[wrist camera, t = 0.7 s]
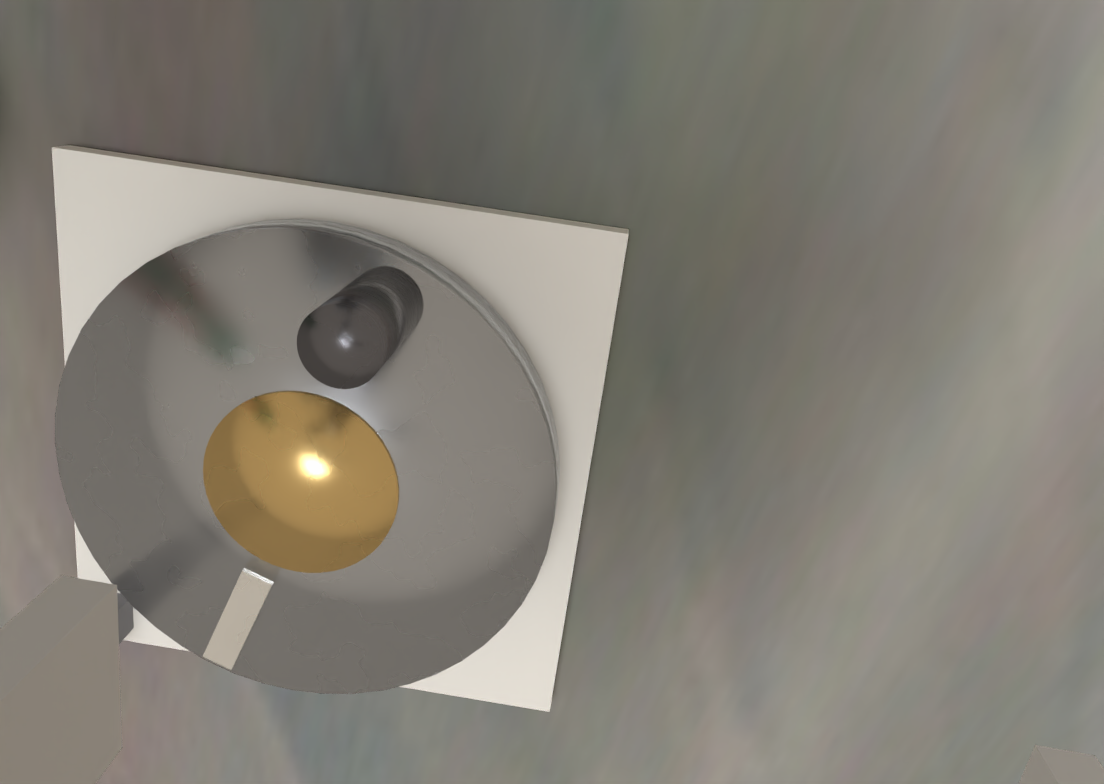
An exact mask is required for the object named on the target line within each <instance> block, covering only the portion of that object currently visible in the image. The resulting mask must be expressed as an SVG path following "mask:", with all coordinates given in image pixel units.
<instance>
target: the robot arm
mask: <svg viewBox="0 0 1104 784" xmlns="http://www.w3.org/2000/svg"><path fill="white" fill-rule="evenodd" d="M121 749H122V722H121V691H120V661H119V630H118V599H117V585H114V584H108V583H103V582H97V581H91V580H85V579H80V578H74V577H68V576H62V575H61V576H60V577H59V578H58V579H57V580H55V581H54V582H53V583H52V584H51V585H50V586H49V587H47V588H46V589H45V590H44V591H43V592H42V593H41V594H40V595H38V596H37V597H36V598H35V599H34V600H33V601H32V602H31V603H29V604H28V605H27V606H26V607H25V608H24V609H23V610H21V611H20V612H19V613H18V614H17V615H16V616H15V617H14V618H12V619H11V620H10V621H9V622H8V623H7V624H6V625H4V626H3V627H2V628H1V629H0V784H96V782H97V781H98V780H99V778H100V777H101V776H102V774H103V773H104V772H105V770H106V769H107V768H108V766H109V765H110V764H111V762H112V761H113V760H114V758H115V757H116V756H117V754H118V753H119V752H120V750H121ZM1019 784H1104V768H1103V767H1102V765H1101V764H1100V762H1099V761H1098V760H1097V758H1096V757H1095V755H1089V754H1084V753H1078V752H1072V751H1066V750H1061V749H1055V748H1049V747H1043V746H1038V745H1035V747H1034V749H1033V752H1032V754H1031V756H1030V759H1029V761H1028V763H1027V766H1026V768H1025V771H1024V773H1023V775H1022V778H1021V780H1020V782H1019Z"/></svg>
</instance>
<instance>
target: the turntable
mask: <svg viewBox="0 0 1104 784" xmlns="http://www.w3.org/2000/svg"><path fill="white" fill-rule="evenodd" d="M55 446H56V454H57V461H58V469H59V475H60V478H61V482H62V486H63V489H64V493H65V497H66V501H67V504H68V506H69V509H70V511H71V514H72V516H73V518H74V521H75V523H76V526H77V528H78V531H79V533H80V534H81V536H82V538H83V540H84V542H85V543H86V545H87V547H88V549H89V550H90V552H91V554H92V556H93V558H94V559H95V561H96V562H97V563H98V565H99V566H100V568H101V569H102V570H103V572H104V573H105V575H106V576H107V577H108V579H109V580H110V582H111V583H112V584H114V585H117V590H118V591H119V592H120V593H121V594H122V595H123V596H124V597H125V599H126V600H127V601H128V602H129V603H130V604H131V605H132V606H133V607H134V608H135V609H136V610H137V611H138V612H139V613H140V614H141V615H143V616H144V617H145V618H146V619H147V620H148V621H149V622H150V623H151V624H153V625H154V626H155V627H156V628H157V629H159V630H160V631H161V632H163V633H164V634H165V635H167V636H168V637H170V638H171V639H172V640H174V641H175V642H176V643H178V644H179V645H181V646H182V647H184V648H186V649H187V650H189V651H191V652H193V653H194V654H196V655H198V656H199V657H201V658H203V659H204V660H206V661H208V662H210V663H213V664H215V665H217V666H219V667H221V668H224V669H226V670H228V671H230V672H232V673H234V674H237V675H240V676H243V677H246V678H249V679H252V680H255V681H258V682H261V683H264V684H268V685H273V686H277V687H282V688H286V689H291V690H297V691H305V692H314V693H323V694H355V693H364V692H373V691H382V690H386V689H391V688H395V687H399V686H404V685H408V684H411V683H414V682H417V681H419V680H422V679H425V678H428V677H430V676H433V675H436V674H438V673H440V672H442V671H444V670H446V669H448V668H450V667H451V666H453V665H455V664H457V663H459V662H461V661H463V660H464V659H465V658H467V657H468V656H470V655H471V654H472V653H474V652H475V651H477V650H478V649H480V648H481V647H482V646H484V645H485V644H486V643H487V642H488V641H489V640H490V639H491V638H492V637H494V636H495V635H496V634H497V633H498V632H499V631H500V630H501V629H502V628H503V627H504V626H505V625H506V624H507V622H508V621H509V620H510V619H511V617H512V616H513V615H514V614H515V612H516V611H517V610H518V609H519V607H520V606H521V605H522V603H523V602H524V600H525V598H526V596H527V595H528V593H529V591H530V590H531V588H532V586H533V584H534V583H535V581H536V579H537V576H538V574H539V571H540V569H541V566H542V564H543V561H544V559H545V556H546V554H547V550H548V545H549V541H550V537H551V532H552V528H553V523H554V518H555V512H556V506H557V500H558V490H559V477H560V461H559V445H558V437H557V432H556V427H555V422H554V417H553V413H552V409H551V406H550V403H549V400H548V397H547V395H546V392H545V389H544V386H543V383H542V381H541V379H540V377H539V375H538V373H537V371H536V369H535V367H534V365H533V363H532V361H531V359H530V357H529V355H528V353H527V351H526V350H525V348H524V347H523V345H522V344H521V343H520V341H519V340H518V338H517V337H516V335H515V334H514V332H513V331H512V329H511V328H510V327H509V325H508V324H507V323H506V322H505V320H504V319H503V318H502V317H501V316H500V315H499V314H498V313H497V311H496V310H495V309H494V308H493V307H492V306H491V305H490V304H489V302H488V301H487V300H486V299H485V298H484V297H483V296H481V295H480V294H479V293H478V292H477V291H476V290H475V289H473V288H472V287H471V286H470V285H469V284H468V283H467V282H465V281H464V280H463V279H462V278H461V277H460V276H458V275H457V274H455V273H454V272H452V271H451V270H449V269H448V268H446V267H445V266H444V265H442V264H441V263H439V262H438V261H436V260H435V259H433V258H432V257H430V256H428V255H426V254H424V253H422V252H420V251H418V250H416V249H414V248H412V247H410V246H408V245H407V244H405V243H403V242H401V241H399V240H396V239H393V238H390V237H387V236H385V235H382V234H379V233H376V232H373V231H371V230H368V229H364V228H360V227H355V226H351V225H346V224H342V223H337V222H332V221H321V220H310V219H279V220H263V221H258V222H253V223H248V224H242V225H237V226H232V227H229V228H227V229H224V230H221V231H218V232H215V233H212V234H209V235H206V236H204V237H201V238H198V239H196V240H193V241H191V242H188V243H185V244H183V245H180V246H178V247H175V248H173V249H171V250H169V251H167V252H166V253H164V254H162V255H160V256H158V257H156V258H154V259H152V260H150V261H149V262H147V263H145V264H144V265H142V266H141V267H140V268H138V269H137V270H136V271H134V272H133V273H132V274H130V275H129V276H128V277H126V278H125V279H124V280H122V281H121V282H120V283H119V284H118V285H117V286H116V287H115V288H114V289H113V290H112V291H111V292H110V293H109V294H108V295H107V296H106V297H105V298H104V299H103V300H102V301H101V302H100V303H99V305H98V306H97V308H96V309H95V310H94V312H93V313H92V315H91V316H90V318H89V319H88V320H87V322H86V323H85V325H84V326H83V327H82V329H81V331H80V333H79V335H78V337H77V339H76V341H75V343H74V345H73V347H72V349H71V352H70V354H69V356H68V359H67V362H66V365H65V369H64V372H63V375H62V378H61V382H60V385H59V392H58V399H57V405H56V412H55Z"/></svg>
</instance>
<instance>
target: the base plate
mask: <svg viewBox="0 0 1104 784" xmlns="http://www.w3.org/2000/svg"><path fill="white" fill-rule="evenodd" d="M52 159H53V176H54V192H55V209H56V225H57V242H58V258H59V275H60V291H61V308H62V324H63V341H64V357H65V365H66V362H67V359H68V356H69V354H70V352H71V349H72V347H73V345H74V343H75V341H76V339H77V337H78V335H79V333H80V331H81V329H82V327H83V326H84V325H85V323H86V322H87V320H88V319H89V318H90V316H91V315H92V313H93V312H94V310H95V309H96V308H97V306H98V305H99V303H100V302H101V301H102V300H103V299H104V298H105V297H106V296H107V295H108V294H109V293H110V292H111V291H112V290H113V289H114V288H115V287H116V286H117V285H118V284H119V283H120V282H121V281H122V280H124V279H125V278H126V277H128V276H129V275H130V274H132V273H133V272H134V271H136V270H137V269H138V268H140V267H141V266H142V265H144V264H145V263H147V262H149V261H150V260H152V259H154V258H156V257H158V256H160V255H162V254H164V253H166V252H167V251H169V250H171V249H173V248H175V247H178V246H180V245H183V244H185V243H188V242H191V241H193V240H196V239H198V238H201V237H204V236H206V235H209V234H212V233H215V232H218V231H221V230H224V229H227V228H229V227H232V226H237V225H242V224H248V223H253V222H258V221H263V220H279V219H310V220H321V221H332V222H337V223H342V224H346V225H351V226H355V227H360V228H364V229H368V230H371V231H373V232H376V233H379V234H382V235H385V236H387V237H390V238H393V239H396V240H399V241H401V242H403V243H405V244H407V245H408V246H410V247H412V248H414V249H416V250H418V251H420V252H422V253H424V254H426V255H428V256H430V257H432V258H433V259H435V260H436V261H438V262H439V263H441V264H442V265H444V266H445V267H446V268H448V269H449V270H451V271H452V272H454V273H455V274H457V275H458V276H460V277H461V278H462V279H463V280H464V281H465V282H467V283H468V284H469V285H470V286H471V287H472V288H473V289H475V290H476V291H477V292H478V293H479V294H480V295H481V296H483V297H484V298H485V299H486V300H487V301H488V302H489V304H490V305H491V306H492V307H493V308H494V309H495V310H496V311H497V313H498V314H499V315H500V316H501V317H502V318H503V319H504V320H505V322H506V323H507V324H508V325H509V327H510V328H511V329H512V331H513V332H514V334H515V335H516V337H517V338H518V340H519V341H520V343H521V344H522V345H523V347H524V348H525V350H526V351H527V353H528V355H529V357H530V359H531V361H532V363H533V365H534V367H535V369H536V371H537V373H538V375H539V377H540V379H541V381H542V383H543V386H544V389H545V392H546V395H547V397H548V400H549V403H550V406H551V409H552V413H553V417H554V422H555V427H556V432H557V437H558V445H559V461H560V477H559V490H558V500H557V506H556V512H555V518H554V523H553V528H552V532H551V537H550V541H549V545H548V550H547V554H546V556H545V559H544V561H543V564H542V566H541V569H540V571H539V574H538V576H537V579H536V581H535V583H534V584H533V586H532V588H531V590H530V591H529V593H528V595H527V596H526V598H525V600H524V602H523V603H522V605H521V606H520V607H519V609H518V610H517V611H516V612H515V614H514V615H513V616H512V617H511V619H510V620H509V621H508V622H507V624H506V625H505V626H504V627H503V628H502V629H501V630H500V631H499V632H498V633H497V634H496V635H495V636H494V637H492V638H491V639H490V640H489V641H488V642H487V643H486V644H485V645H484V646H482V647H481V648H480V649H478V650H477V651H475V652H474V653H472V654H471V655H470V656H468V657H467V658H465V659H464V660H463V661H461V662H459V663H457V664H455V665H453V666H451V667H450V668H448V669H446V670H444V671H442V672H440V673H438V674H436V675H433V676H430V677H428V678H425V679H422V680H419V681H417V682H414V683H411V684H408V685H404V686H399V687H405V688H411V689H417V690H423V691H429V692H435V693H441V694H447V695H453V696H459V697H465V698H470V699H476V700H482V701H488V702H494V703H500V704H506V705H512V706H518V707H524V708H530V709H536V710H542V711H548V712H550V706H551V700H552V693H553V687H554V681H555V675H556V669H557V663H558V657H559V651H560V645H561V639H562V633H563V627H564V621H565V615H566V609H567V603H568V597H569V591H570V585H571V579H572V573H573V567H574V561H575V555H576V549H577V543H578V537H579V531H580V525H581V519H582V513H583V507H584V501H585V495H586V489H587V483H588V476H589V470H590V464H591V458H592V452H593V446H594V440H595V434H596V428H597V422H598V416H599V410H600V404H601V398H602V392H603V386H604V380H605V374H606V368H607V362H608V356H609V350H610V344H611V338H612V332H613V326H614V320H615V314H616V308H617V302H618V296H619V290H620V284H621V278H622V272H623V265H624V259H625V253H626V247H627V241H628V235H629V229H624V228H618V227H611V226H604V225H598V224H591V223H584V222H578V221H571V220H565V219H558V218H551V217H545V216H538V215H531V214H525V213H518V212H511V211H505V210H498V209H491V208H485V207H478V206H471V205H465V204H458V203H451V202H445V201H438V200H432V199H425V198H418V197H412V196H405V195H398V194H392V193H385V192H378V191H372V190H365V189H358V188H352V187H345V186H338V185H332V184H325V183H318V182H312V181H305V180H299V179H292V178H285V177H279V176H272V175H265V174H259V173H252V172H245V171H239V170H232V169H225V168H219V167H212V166H205V165H199V164H192V163H185V162H179V161H172V160H166V159H159V158H152V157H146V156H139V155H132V154H126V153H119V152H112V151H106V150H99V149H92V148H86V147H79V146H72V145H65V146H58V147H52ZM74 523H75V521H74ZM75 539H76V556H77V572H78V578H80V579H85V580H91V581H97V582H103V583H108V584H112V583H111V582H110V580H109V579H108V577H107V576H106V575H105V573H104V572H103V570H102V569H101V568H100V566H99V565H98V563H97V562H96V561H95V559H94V558H93V556H92V554H91V552H90V550H89V549H88V547H87V545H86V543H85V542H84V540H83V538H82V536H81V534H80V533H79V531H78V528H77V526H76V523H75ZM117 599H118V630H119V644H120V643H121V642H122V640H126V641H132V642H138V643H144V644H150V645H156V646H162V647H168V648H174V649H180V650H186V651H189V650H187V649H186V648H184V647H182V646H181V645H179V644H178V643H176V642H175V641H174V640H172V639H171V638H170V637H168V636H167V635H165V634H164V633H163V632H161V631H160V630H159V629H157V628H156V627H155V626H154V625H153V624H151V623H150V622H149V621H148V620H147V619H146V618H145V617H144V616H143V615H141V614H140V613H139V612H138V611H137V610H136V609H135V608H134V607H133V606H132V605H131V604H130V603H129V602H128V601H127V600H126V599H125V597H124V596H123V595H122V594H121V593H120V592H119V591H118V590H117Z"/></svg>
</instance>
